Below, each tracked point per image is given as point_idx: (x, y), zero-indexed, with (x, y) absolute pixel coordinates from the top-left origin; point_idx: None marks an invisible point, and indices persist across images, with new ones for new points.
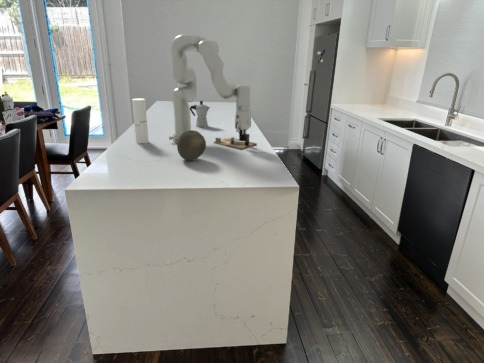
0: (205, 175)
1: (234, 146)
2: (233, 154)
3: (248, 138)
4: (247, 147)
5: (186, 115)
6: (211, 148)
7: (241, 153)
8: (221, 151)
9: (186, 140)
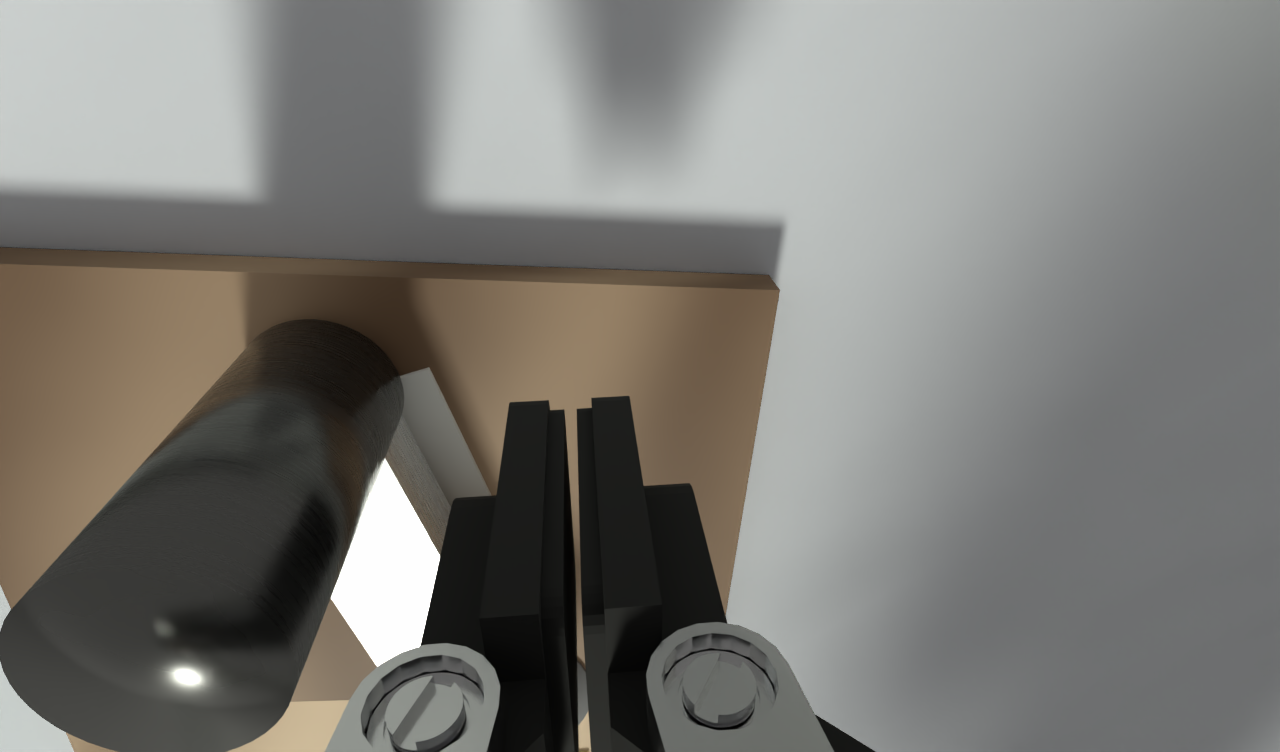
0: None
1: (705, 516)
2: (1271, 142)
3: (233, 446)
4: (427, 264)
5: None
6: (1005, 732)
7: (1089, 9)
8: (1121, 508)
9: None
